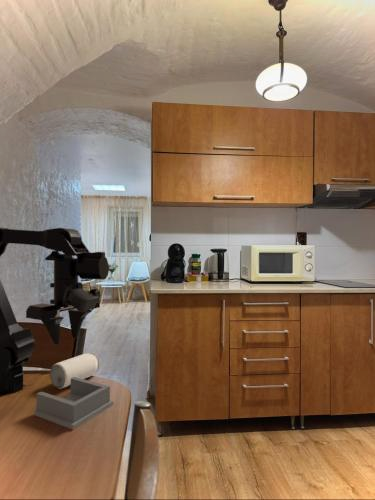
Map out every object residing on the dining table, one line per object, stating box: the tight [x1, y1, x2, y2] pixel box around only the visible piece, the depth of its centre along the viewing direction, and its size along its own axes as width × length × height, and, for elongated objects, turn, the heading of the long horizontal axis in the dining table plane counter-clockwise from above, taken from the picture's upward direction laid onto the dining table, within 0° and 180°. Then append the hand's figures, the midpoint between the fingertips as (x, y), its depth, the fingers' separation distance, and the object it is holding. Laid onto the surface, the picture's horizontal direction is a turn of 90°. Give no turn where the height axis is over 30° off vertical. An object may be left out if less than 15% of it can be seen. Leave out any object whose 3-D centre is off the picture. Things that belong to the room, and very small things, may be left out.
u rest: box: [33, 377, 114, 431], centre depth 75 cm, size 12×12×4 cm
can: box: [49, 353, 100, 390], centre depth 91 cm, size 6×6×12 cm
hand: (66, 341), depth 83 cm, fingers open, 5 cm apart
